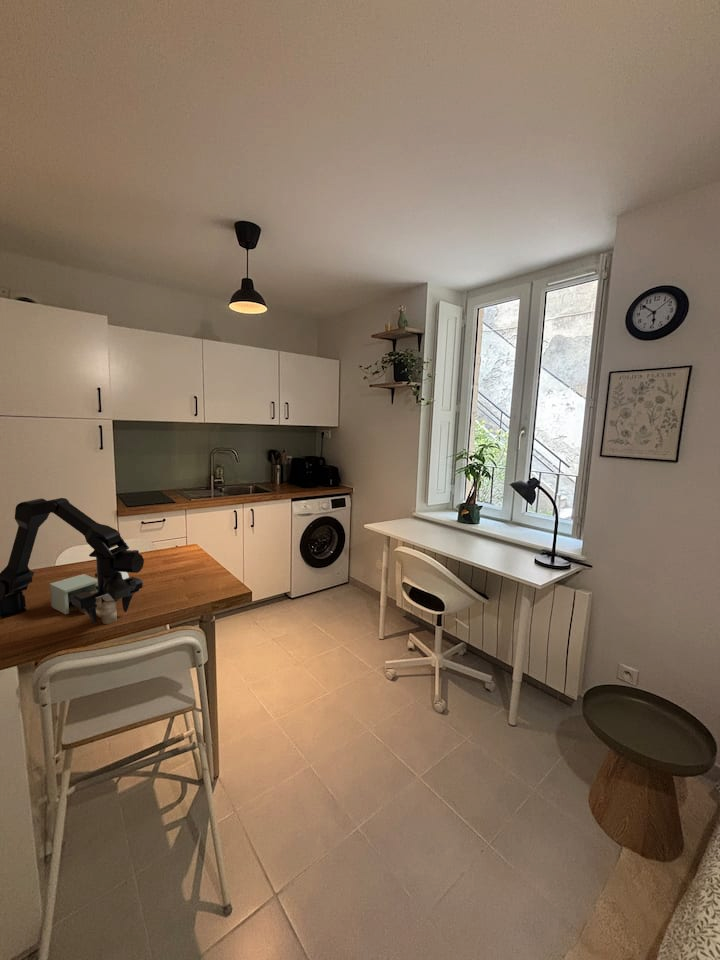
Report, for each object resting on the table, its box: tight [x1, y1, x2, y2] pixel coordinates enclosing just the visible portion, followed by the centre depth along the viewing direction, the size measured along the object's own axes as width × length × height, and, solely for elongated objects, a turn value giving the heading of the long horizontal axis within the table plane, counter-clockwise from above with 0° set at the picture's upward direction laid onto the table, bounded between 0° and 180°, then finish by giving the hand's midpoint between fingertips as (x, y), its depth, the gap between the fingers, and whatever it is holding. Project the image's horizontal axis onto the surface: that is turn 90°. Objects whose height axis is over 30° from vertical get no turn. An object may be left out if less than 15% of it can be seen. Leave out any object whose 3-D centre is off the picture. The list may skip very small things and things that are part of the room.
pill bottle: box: [101, 572, 130, 602], centre depth 143 cm, size 8×8×15 cm
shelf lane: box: [49, 573, 98, 615], centre depth 135 cm, size 10×10×8 cm
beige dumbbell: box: [77, 591, 118, 625], centre depth 129 cm, size 5×18×6 cm, turn 57°
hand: (110, 617), depth 126 cm, fingers open, 9 cm apart
